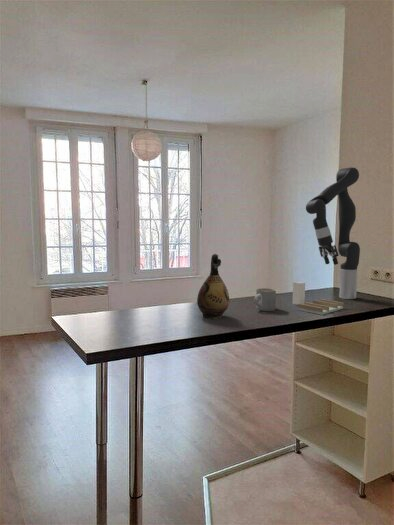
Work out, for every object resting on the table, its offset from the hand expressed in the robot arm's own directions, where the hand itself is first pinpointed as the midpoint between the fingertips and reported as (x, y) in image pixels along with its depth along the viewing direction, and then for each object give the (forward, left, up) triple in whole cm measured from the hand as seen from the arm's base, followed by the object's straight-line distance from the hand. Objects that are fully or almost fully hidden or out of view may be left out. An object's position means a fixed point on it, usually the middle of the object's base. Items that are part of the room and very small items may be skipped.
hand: (331, 264), depth 219 cm
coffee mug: (+38, -16, -22) cm, 47 cm away
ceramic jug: (+68, -22, -22) cm, 75 cm away
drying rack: (+16, +4, -22) cm, 28 cm away
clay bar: (+14, -11, -22) cm, 28 cm away
